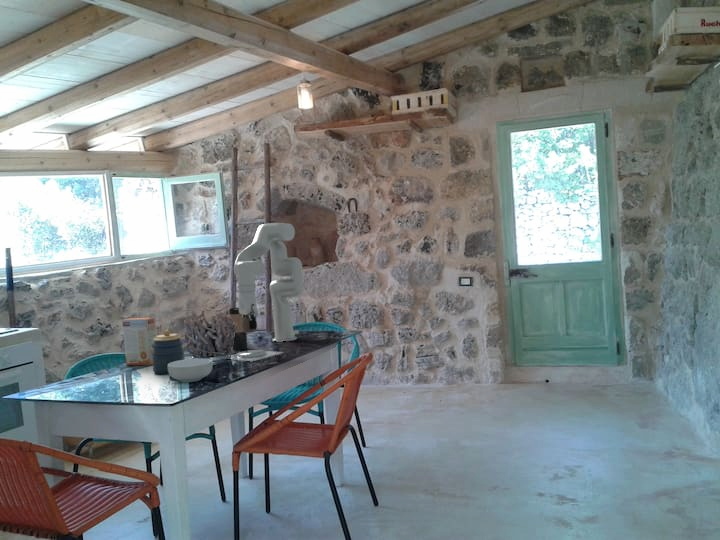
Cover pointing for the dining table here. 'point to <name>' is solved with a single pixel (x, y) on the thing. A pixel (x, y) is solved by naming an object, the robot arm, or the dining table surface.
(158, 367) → the canister
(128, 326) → the cracker box
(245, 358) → the flange plate
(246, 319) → the vase
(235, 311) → the travel mug
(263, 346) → the dining table surface
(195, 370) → the cereal bowl
